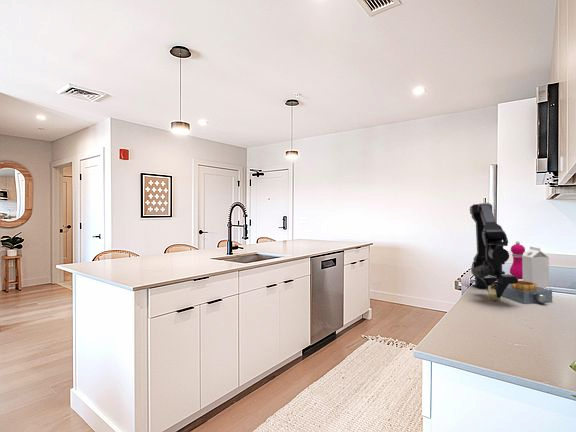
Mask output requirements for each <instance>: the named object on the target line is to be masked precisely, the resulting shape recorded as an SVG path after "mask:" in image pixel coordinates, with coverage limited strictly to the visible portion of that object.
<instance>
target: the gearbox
mask: <svg viewBox="0 0 576 432" xmlns="http://www.w3.org/2000/svg"><path fill="white" fill-rule="evenodd" d="M501 297H505V298H507V299H510V300H513V301H515V302H518V303H521V304H523V305H524V304H528V305H529V304H541V303H542V304H547V303H552V302H553V290H551V289H549V290H548V289H544V288H541V287H537V284H536V283H533V282H528V281H518V283H517V284H509V285H508V286H507V287H506V289H505V290H504V292H503V294H502V296H501Z"/></svg>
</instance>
